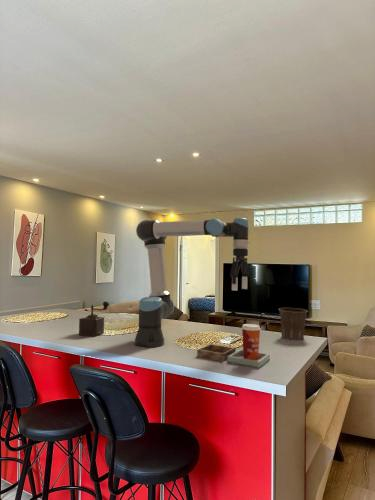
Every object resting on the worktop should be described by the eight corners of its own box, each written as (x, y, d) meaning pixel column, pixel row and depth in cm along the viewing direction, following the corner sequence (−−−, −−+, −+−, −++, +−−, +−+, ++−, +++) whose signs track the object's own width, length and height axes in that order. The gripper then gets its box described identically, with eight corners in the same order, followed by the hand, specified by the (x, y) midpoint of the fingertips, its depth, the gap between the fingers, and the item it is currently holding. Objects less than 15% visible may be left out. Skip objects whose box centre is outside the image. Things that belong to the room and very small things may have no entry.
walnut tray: (197, 356, 153) (197, 349, 154) (210, 350, 165) (210, 343, 165) (223, 361, 147) (223, 354, 147) (235, 354, 158) (235, 347, 158)
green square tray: (227, 362, 145) (227, 356, 146) (239, 354, 158) (239, 349, 158) (259, 368, 138) (259, 361, 138) (269, 359, 150) (269, 354, 150)
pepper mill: (95, 337, 187) (96, 304, 188) (78, 335, 190) (79, 303, 191) (110, 331, 202) (110, 301, 203) (93, 330, 205) (94, 300, 206)
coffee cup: (251, 364, 142) (251, 327, 143) (237, 359, 149) (237, 324, 149) (264, 361, 147) (265, 325, 148) (250, 356, 154) (250, 323, 154)
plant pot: (309, 341, 188) (309, 312, 188) (279, 339, 191) (279, 310, 192) (305, 335, 204) (305, 308, 204) (277, 333, 207) (277, 307, 207)
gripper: (238, 247, 163) (237, 291, 162) (255, 249, 184) (255, 288, 184) (223, 247, 167) (222, 290, 166) (242, 249, 188) (241, 287, 187)
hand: (239, 289), depth 175 cm, fingers open, 13 cm apart
